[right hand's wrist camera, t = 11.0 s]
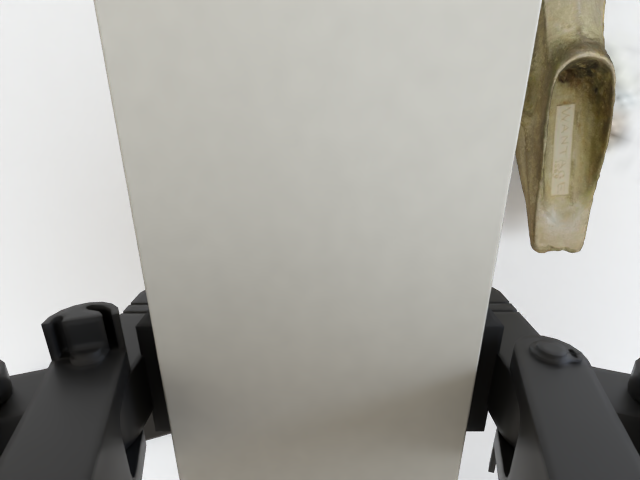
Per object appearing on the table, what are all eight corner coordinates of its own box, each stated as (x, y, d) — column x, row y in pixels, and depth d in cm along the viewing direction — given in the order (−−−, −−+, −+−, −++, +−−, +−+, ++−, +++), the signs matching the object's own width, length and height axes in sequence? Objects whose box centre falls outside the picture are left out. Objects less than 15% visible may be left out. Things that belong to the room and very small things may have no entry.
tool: (488, -203, 19) (536, -304, 14) (624, -212, 18) (715, -317, 14) (455, 240, 25) (480, 264, 21) (555, 238, 25) (603, 263, 20)
